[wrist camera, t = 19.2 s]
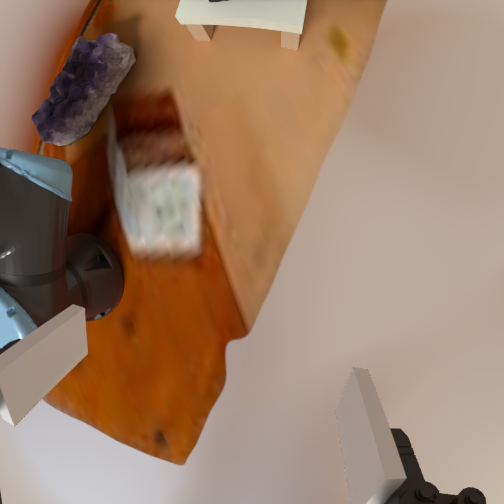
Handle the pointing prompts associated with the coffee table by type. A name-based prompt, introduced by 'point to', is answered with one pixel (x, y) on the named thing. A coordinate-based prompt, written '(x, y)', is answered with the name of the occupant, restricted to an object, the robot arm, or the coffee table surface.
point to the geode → (83, 88)
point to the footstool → (245, 17)
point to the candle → (217, 0)
